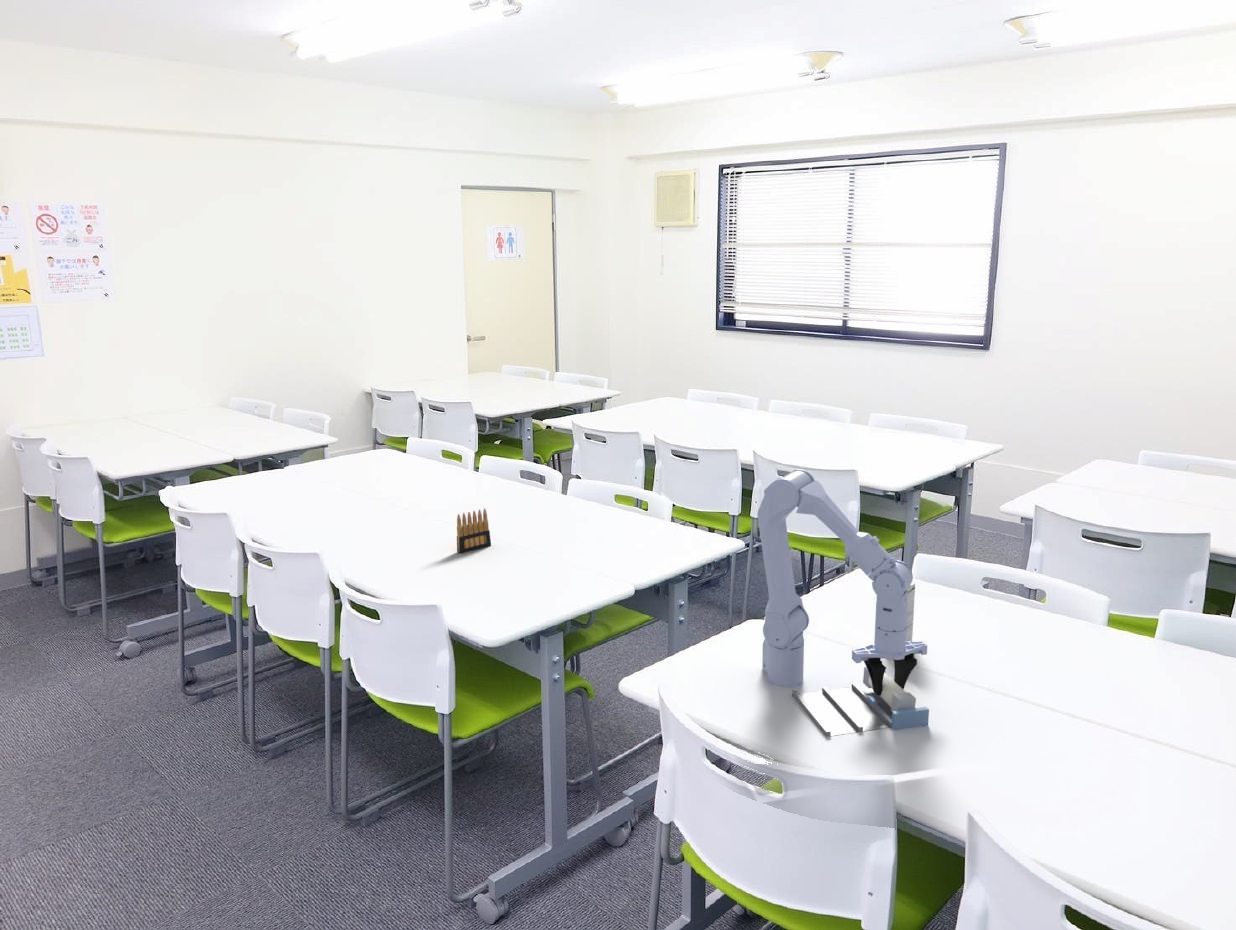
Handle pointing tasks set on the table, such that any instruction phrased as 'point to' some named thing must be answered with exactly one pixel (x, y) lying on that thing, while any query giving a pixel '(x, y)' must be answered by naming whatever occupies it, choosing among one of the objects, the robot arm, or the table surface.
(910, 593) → the syrup box
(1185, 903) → the table surface
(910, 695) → the white rounded long block
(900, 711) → the lane divider tray
